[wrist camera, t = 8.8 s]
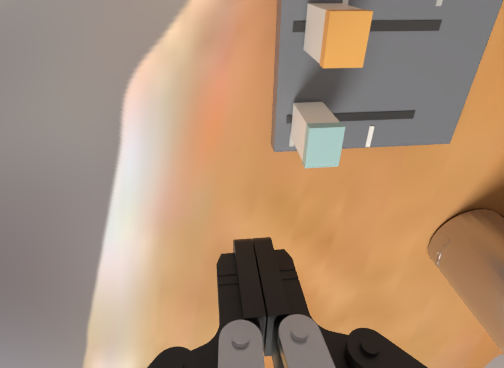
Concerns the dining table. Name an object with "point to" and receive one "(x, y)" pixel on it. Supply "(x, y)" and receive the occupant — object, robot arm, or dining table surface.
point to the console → (386, 71)
